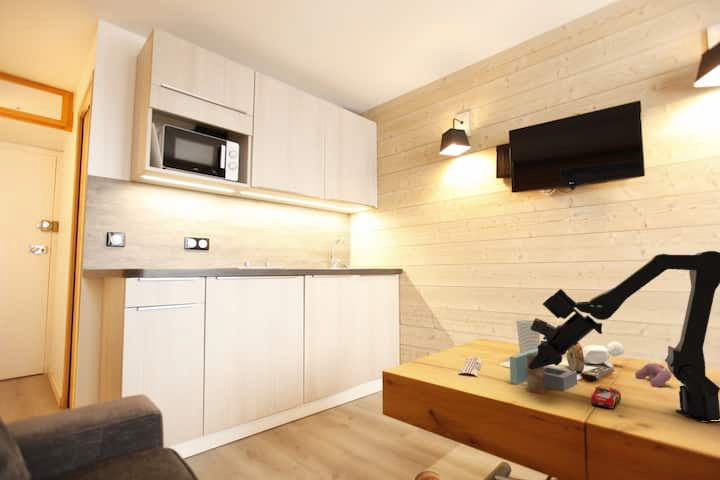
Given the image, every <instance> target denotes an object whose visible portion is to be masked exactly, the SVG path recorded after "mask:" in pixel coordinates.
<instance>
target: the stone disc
mask: <svg viewBox="0 0 720 480" xmlns="http://www.w3.org/2000/svg"><path fill="white" fill-rule="evenodd" d="M582 349H583V348H582V346H581V344H580V342H578V344H577V345H574V346H573V347H571V348H570V349H569V350H568V351H566V355H565V356H566V360H567V364H568V366H569V369H570V370H571V369H572V370H573V371H581V372H583V371H584V369H585V362H584V356H583V351H582ZM572 370H571V371H572Z"/></svg>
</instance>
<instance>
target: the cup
mask: <svg viewBox="0 0 720 480" xmlns="http://www.w3.org/2000/svg"><path fill="white" fill-rule="evenodd" d="M534 320H535V319H516V320H515V324H516V331H517V332H516V333H517V338H518V346H519V347H518V348H519V354H520V353H523V352H527V351H530V350H533V349H537V347H538V345H539V344H540V342H541V334H540V333H538V332H536V331H533V330H531V329H530V328H531V326H532V324H533V322H534Z"/></svg>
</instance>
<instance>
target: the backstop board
mask: <svg viewBox="0 0 720 480" xmlns="http://www.w3.org/2000/svg"><path fill="white" fill-rule="evenodd" d="M528 353H533V354H537V353H538V348H537V349H533V350H530V351H527V352H523V353H520V352H519V353H517V354H514V355H510V356H509V375H510V376H509V377H510V384H512V385H517V386H518V385H521V384H522V383H524V382H528V378H527V354H528Z"/></svg>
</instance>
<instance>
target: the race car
mask: <svg viewBox="0 0 720 480" xmlns="http://www.w3.org/2000/svg"><path fill="white" fill-rule="evenodd" d="M594 389H595V390H594V392H593V393H592V394H591V399H590V402H591V404H592V405H594V406H600V407H603V408H604V407H605V408H607V409H608V408H609V409H616V407H617V406H618V404H619V402H620V401H621V399H622V395H621V392H620V391H619V390H617V389H614V388H611V387H608V386H601V385H599V386H595V387H594Z"/></svg>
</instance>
